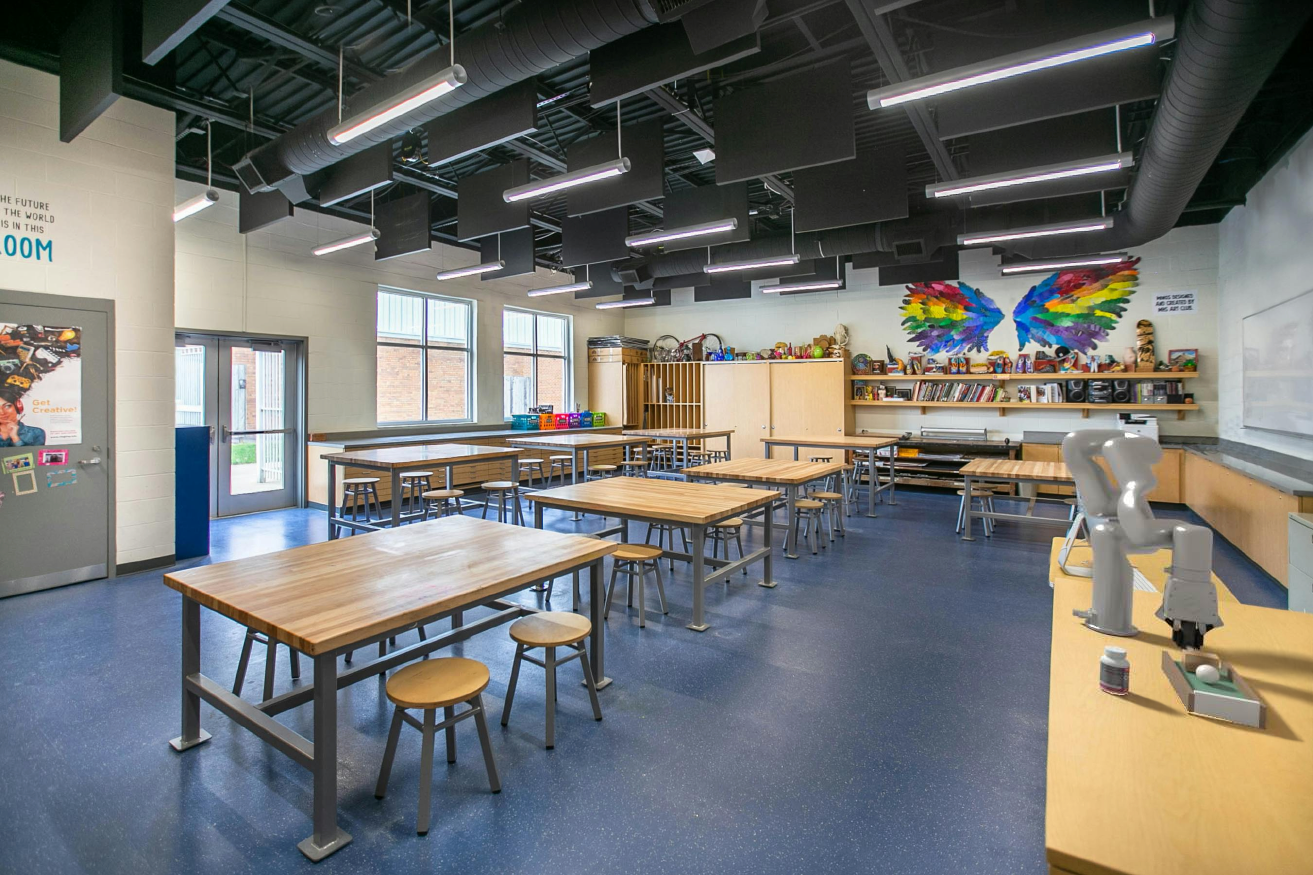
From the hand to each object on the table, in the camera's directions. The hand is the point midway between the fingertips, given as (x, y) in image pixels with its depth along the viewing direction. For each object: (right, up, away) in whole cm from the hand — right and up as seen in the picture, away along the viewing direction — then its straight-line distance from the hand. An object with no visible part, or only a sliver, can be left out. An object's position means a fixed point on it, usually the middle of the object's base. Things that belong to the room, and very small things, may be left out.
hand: (1187, 645), depth 152 cm
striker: (-3, -2, -5) cm, 6 cm away
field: (-10, -6, -16) cm, 20 cm away
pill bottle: (-29, -6, -14) cm, 33 cm away
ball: (-9, -1, -16) cm, 18 cm away
